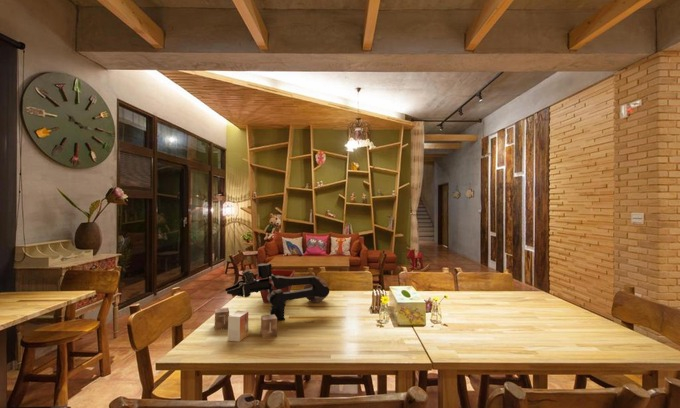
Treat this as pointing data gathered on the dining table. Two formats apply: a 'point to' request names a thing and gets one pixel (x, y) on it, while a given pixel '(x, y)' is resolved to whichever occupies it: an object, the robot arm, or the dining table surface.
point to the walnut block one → (269, 326)
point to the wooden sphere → (306, 286)
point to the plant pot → (265, 293)
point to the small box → (238, 326)
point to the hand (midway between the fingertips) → (226, 291)
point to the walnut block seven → (221, 318)
